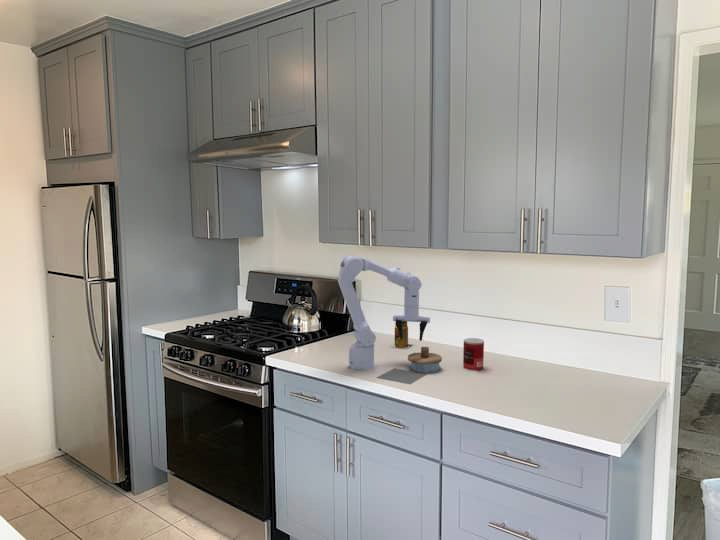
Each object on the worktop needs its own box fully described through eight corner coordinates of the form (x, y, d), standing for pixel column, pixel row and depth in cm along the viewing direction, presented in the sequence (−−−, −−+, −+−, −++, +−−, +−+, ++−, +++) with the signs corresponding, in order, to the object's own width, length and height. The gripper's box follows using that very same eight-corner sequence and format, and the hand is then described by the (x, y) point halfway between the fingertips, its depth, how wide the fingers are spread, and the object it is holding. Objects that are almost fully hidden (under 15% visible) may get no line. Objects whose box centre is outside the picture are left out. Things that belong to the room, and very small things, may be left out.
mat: (375, 378, 200) (375, 377, 200) (394, 369, 211) (394, 368, 211) (410, 385, 192) (410, 384, 192) (427, 375, 204) (427, 374, 204)
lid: (401, 360, 209) (401, 349, 208) (417, 353, 219) (417, 342, 219) (433, 366, 202) (433, 353, 201) (447, 357, 213) (447, 346, 212)
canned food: (483, 365, 216) (484, 338, 215) (482, 371, 208) (483, 343, 207) (464, 364, 218) (464, 337, 217) (462, 370, 210) (462, 342, 209)
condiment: (391, 347, 245) (391, 321, 244) (398, 343, 252) (398, 317, 251) (406, 349, 242) (406, 322, 240) (413, 345, 249) (413, 319, 248)
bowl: (407, 370, 210) (407, 360, 209) (419, 363, 219) (419, 354, 218) (431, 374, 204) (432, 364, 204) (443, 367, 213) (443, 357, 213)
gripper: (391, 306, 214) (391, 340, 216) (428, 308, 210) (427, 343, 212) (395, 303, 221) (394, 336, 222) (431, 305, 217) (430, 338, 219)
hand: (411, 339), depth 218 cm, fingers open, 7 cm apart
